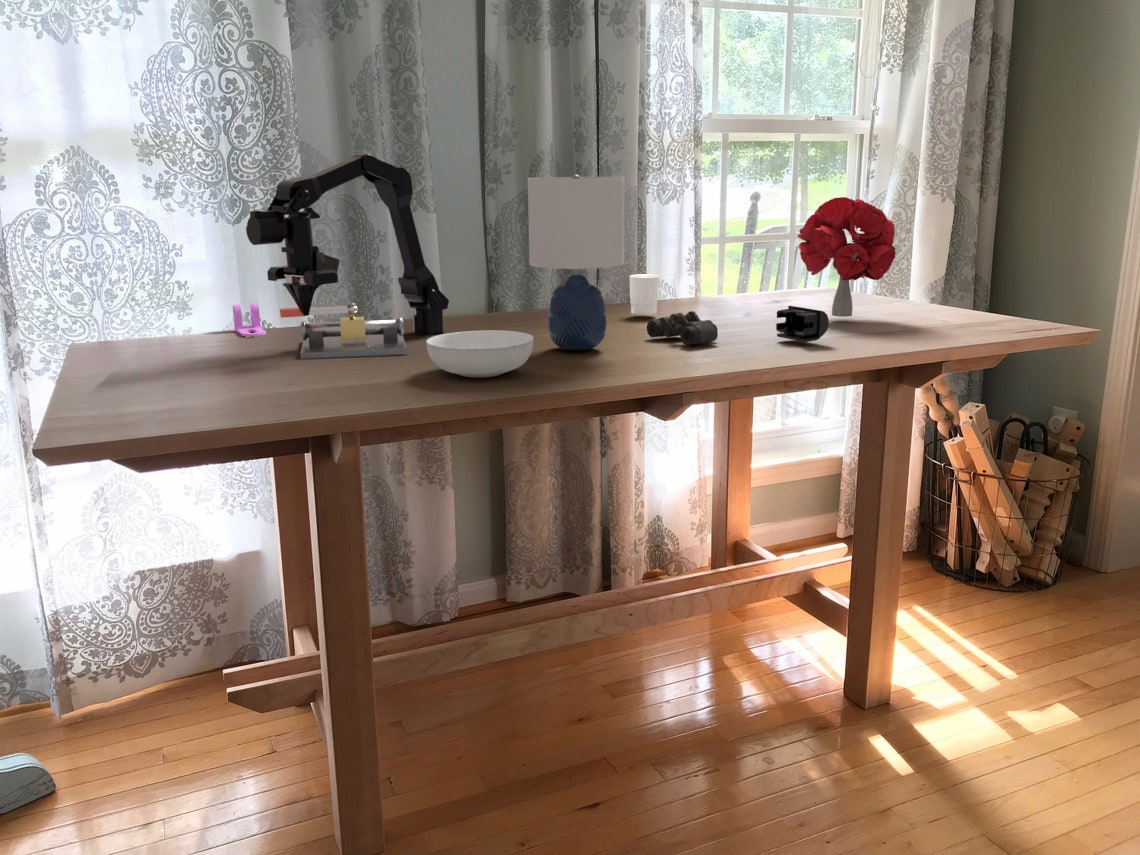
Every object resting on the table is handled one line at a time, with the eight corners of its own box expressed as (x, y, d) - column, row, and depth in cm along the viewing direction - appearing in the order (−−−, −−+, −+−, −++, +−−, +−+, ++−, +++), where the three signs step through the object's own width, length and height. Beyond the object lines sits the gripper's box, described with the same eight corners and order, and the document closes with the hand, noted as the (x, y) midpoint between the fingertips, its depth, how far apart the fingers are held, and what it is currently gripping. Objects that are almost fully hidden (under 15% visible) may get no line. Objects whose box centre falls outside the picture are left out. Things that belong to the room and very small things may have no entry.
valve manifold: (401, 338, 226) (400, 304, 224) (407, 354, 207) (405, 317, 205) (304, 343, 221) (301, 308, 219) (301, 360, 203) (297, 322, 200)
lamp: (577, 335, 227) (576, 173, 217) (642, 346, 213) (644, 173, 203) (512, 348, 213) (507, 175, 203) (577, 360, 199) (575, 175, 189)
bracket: (235, 332, 237) (232, 304, 235) (258, 330, 240) (255, 302, 238) (243, 340, 226) (240, 311, 224) (268, 338, 228) (265, 309, 227)
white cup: (659, 315, 254) (660, 277, 252) (629, 315, 255) (629, 277, 252) (657, 311, 262) (658, 274, 259) (628, 311, 262) (628, 274, 260)
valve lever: (357, 311, 214) (356, 302, 213) (358, 313, 211) (357, 304, 211) (280, 315, 209) (279, 306, 208) (280, 317, 206) (280, 308, 206)
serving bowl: (527, 360, 201) (526, 327, 199) (541, 382, 181) (541, 345, 179) (426, 364, 197) (424, 331, 196) (429, 387, 178) (427, 350, 176)
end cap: (828, 339, 220) (830, 309, 218) (805, 342, 216) (807, 312, 214) (796, 333, 228) (797, 304, 226) (774, 336, 224) (775, 307, 223)
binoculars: (681, 331, 233) (681, 305, 231) (728, 341, 220) (729, 313, 219) (645, 336, 227) (646, 310, 225) (692, 346, 214) (692, 318, 212)
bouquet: (850, 306, 266) (857, 194, 258) (909, 319, 245) (919, 197, 237) (783, 311, 258) (789, 196, 250) (838, 325, 237) (846, 199, 229)
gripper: (356, 240, 203) (362, 314, 207) (308, 237, 215) (314, 307, 219) (310, 244, 195) (317, 321, 199) (262, 241, 207) (270, 314, 211)
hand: (306, 315), depth 207 cm, fingers closed
